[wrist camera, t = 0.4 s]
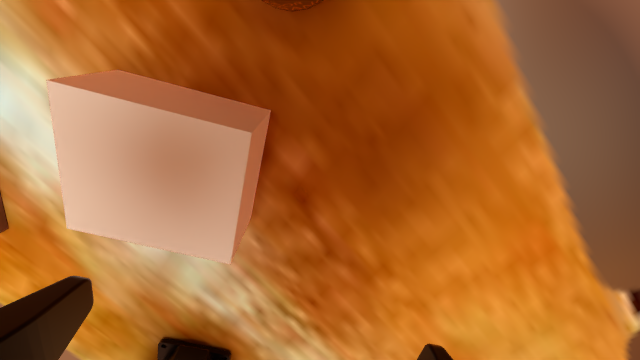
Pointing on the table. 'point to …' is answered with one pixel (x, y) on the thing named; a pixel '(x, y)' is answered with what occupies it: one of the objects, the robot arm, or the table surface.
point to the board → (2, 218)
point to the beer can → (292, 4)
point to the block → (156, 162)
